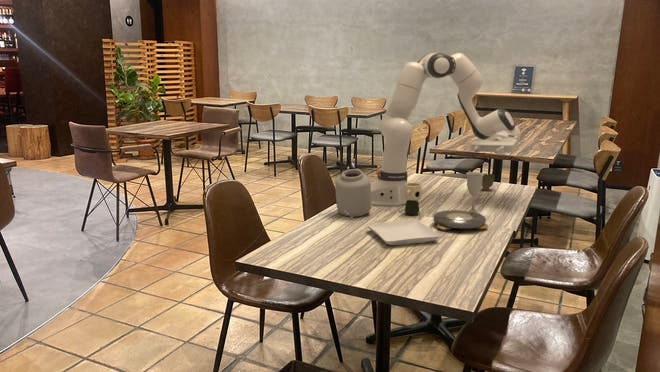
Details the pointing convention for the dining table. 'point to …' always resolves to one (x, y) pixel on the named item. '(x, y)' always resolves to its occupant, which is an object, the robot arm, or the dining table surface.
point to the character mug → (412, 197)
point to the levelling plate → (459, 220)
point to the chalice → (474, 186)
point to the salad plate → (403, 232)
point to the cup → (487, 181)
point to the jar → (353, 193)
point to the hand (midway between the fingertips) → (485, 151)
